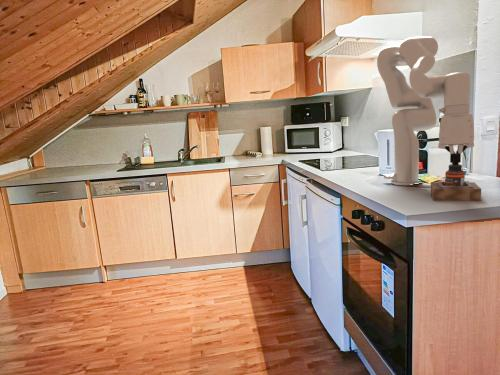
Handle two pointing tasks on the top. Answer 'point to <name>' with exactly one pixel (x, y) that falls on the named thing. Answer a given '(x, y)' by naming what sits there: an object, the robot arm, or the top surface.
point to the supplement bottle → (454, 176)
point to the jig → (456, 191)
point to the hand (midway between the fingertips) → (455, 164)
